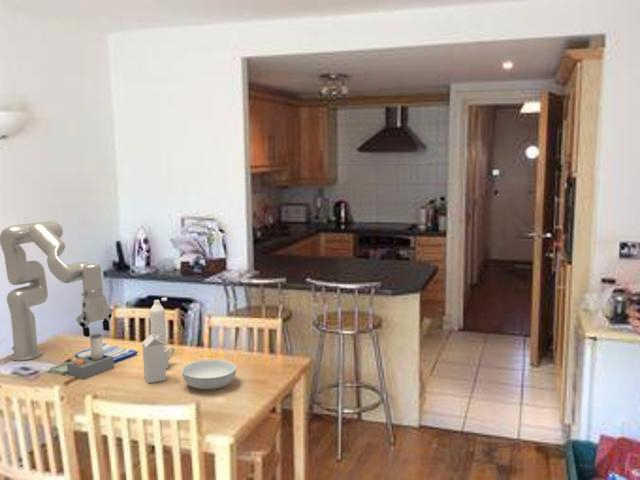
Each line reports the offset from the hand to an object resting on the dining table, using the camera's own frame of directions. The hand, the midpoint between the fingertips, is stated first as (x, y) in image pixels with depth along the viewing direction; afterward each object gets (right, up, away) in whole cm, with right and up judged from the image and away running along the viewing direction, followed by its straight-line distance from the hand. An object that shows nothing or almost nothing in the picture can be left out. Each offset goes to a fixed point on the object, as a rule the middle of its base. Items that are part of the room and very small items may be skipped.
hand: (96, 333), depth 251 cm
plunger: (-5, -14, -5) cm, 15 cm away
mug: (+25, -15, +4) cm, 30 cm away
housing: (-2, -16, -1) cm, 16 cm away
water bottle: (+21, -13, +22) cm, 33 cm away
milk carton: (+27, -17, -10) cm, 34 cm away
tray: (-13, -16, +1) cm, 20 cm away
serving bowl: (+50, -18, -16) cm, 56 cm away
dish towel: (-3, -14, +19) cm, 24 cm away
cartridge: (0, -14, +2) cm, 14 cm away
